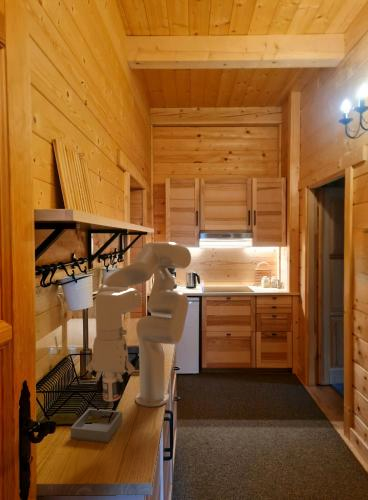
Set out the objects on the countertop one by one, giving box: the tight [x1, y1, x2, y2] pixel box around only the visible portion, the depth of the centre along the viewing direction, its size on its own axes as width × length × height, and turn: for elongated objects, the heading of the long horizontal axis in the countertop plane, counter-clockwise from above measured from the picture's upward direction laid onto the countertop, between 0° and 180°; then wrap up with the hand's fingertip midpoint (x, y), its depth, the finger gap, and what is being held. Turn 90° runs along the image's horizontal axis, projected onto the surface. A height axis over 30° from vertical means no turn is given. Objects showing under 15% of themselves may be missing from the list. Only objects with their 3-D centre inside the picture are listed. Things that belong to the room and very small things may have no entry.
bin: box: [70, 407, 123, 444], centre depth 109 cm, size 12×12×4 cm
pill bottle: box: [102, 372, 122, 402], centre depth 104 cm, size 5×5×9 cm
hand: (110, 391), depth 103 cm, fingers closed on pill bottle, 5 cm apart
